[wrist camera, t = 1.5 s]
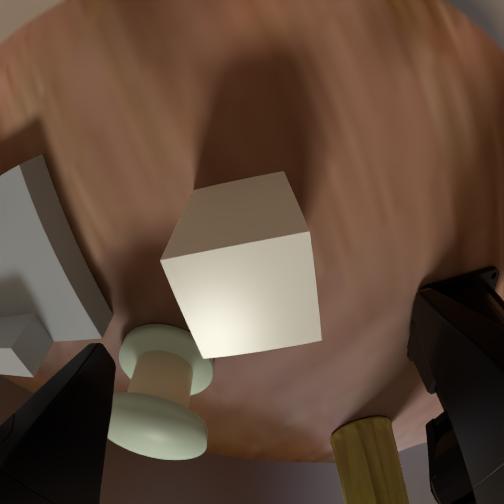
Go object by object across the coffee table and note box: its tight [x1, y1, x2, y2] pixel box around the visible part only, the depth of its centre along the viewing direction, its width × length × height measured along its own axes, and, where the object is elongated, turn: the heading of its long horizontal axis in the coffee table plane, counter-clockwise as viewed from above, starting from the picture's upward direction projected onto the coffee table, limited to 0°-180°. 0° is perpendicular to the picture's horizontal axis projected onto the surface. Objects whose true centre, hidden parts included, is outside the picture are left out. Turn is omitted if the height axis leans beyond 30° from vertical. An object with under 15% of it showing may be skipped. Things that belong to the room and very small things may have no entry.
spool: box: [108, 324, 214, 460], centre depth 16 cm, size 6×6×6 cm
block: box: [160, 171, 322, 359], centre depth 12 cm, size 4×4×6 cm
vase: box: [330, 416, 409, 504], centre depth 18 cm, size 6×6×14 cm
